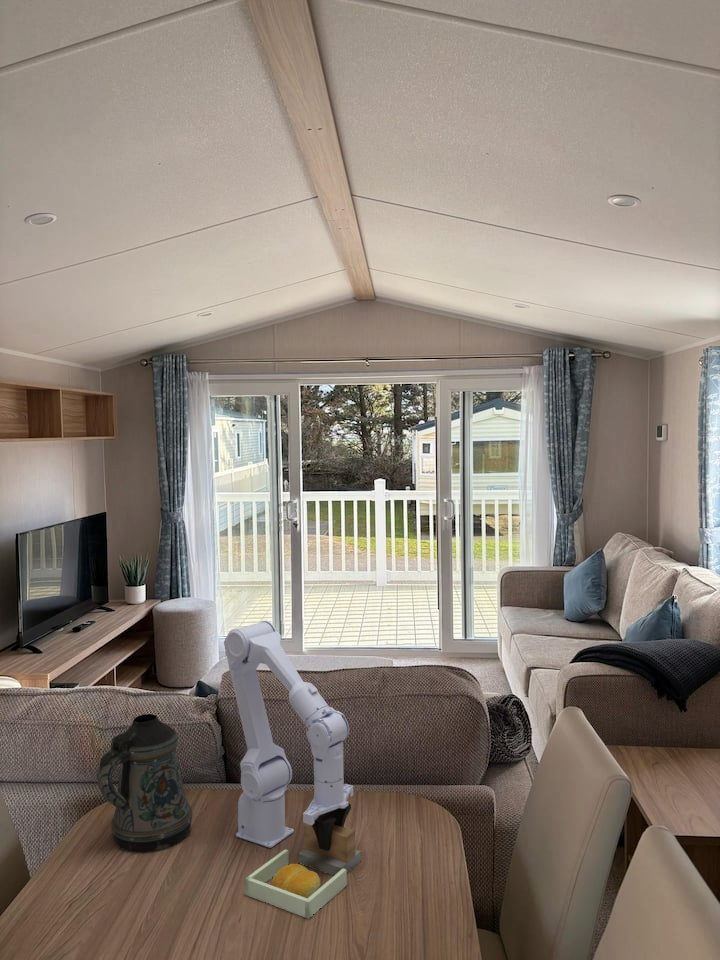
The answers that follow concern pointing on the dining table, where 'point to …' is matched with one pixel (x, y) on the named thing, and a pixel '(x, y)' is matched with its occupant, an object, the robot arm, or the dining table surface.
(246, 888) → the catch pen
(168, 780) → the beer stein
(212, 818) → the dining table surface
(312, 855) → the scraper
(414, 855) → the dining table surface
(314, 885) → the bread roll
